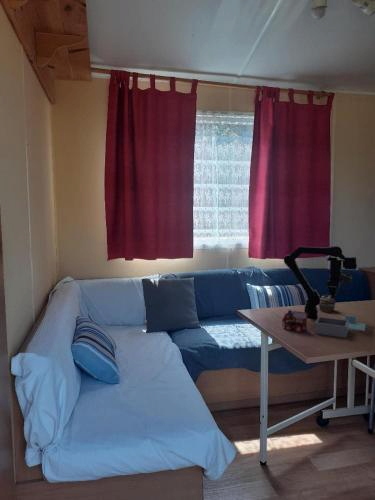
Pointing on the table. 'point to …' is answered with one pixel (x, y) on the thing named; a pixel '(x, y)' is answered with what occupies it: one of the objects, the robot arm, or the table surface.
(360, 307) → the table surface
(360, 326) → the lid
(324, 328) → the tub
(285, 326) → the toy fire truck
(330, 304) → the cupcake
